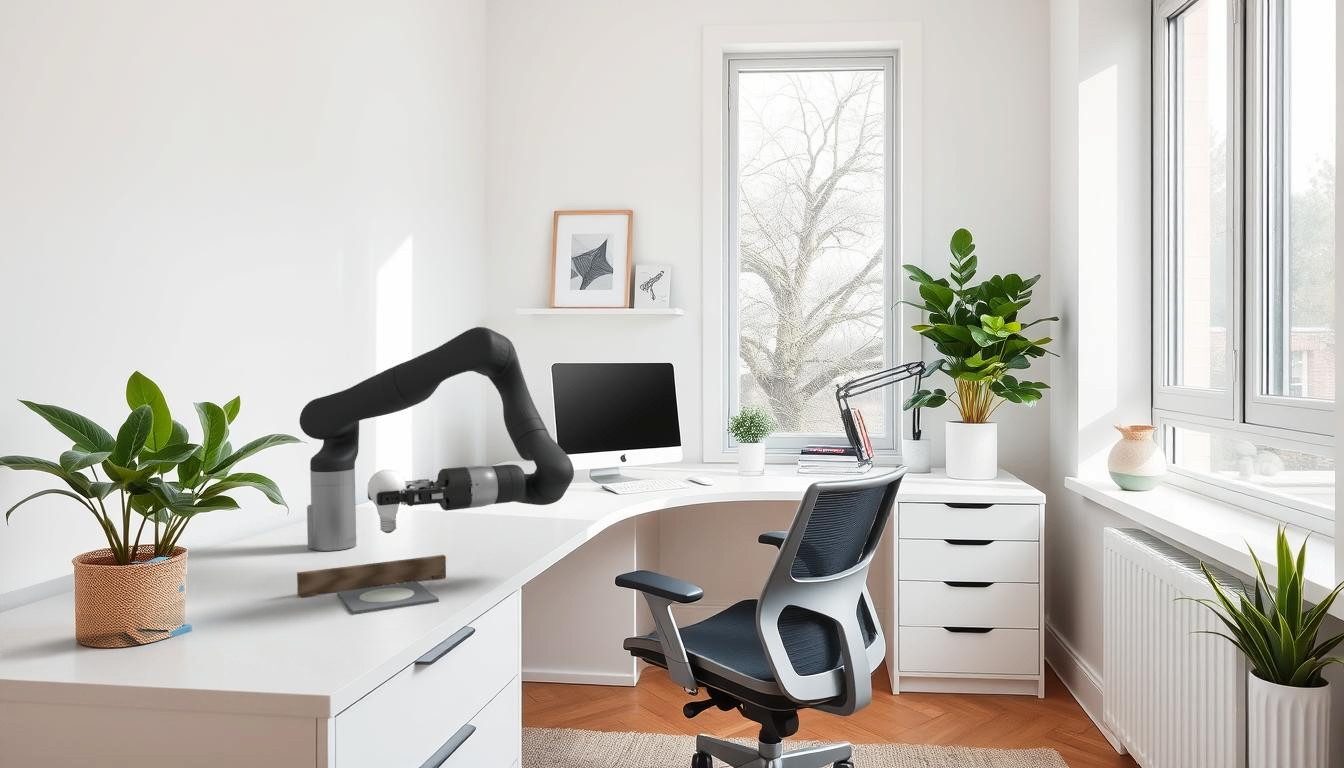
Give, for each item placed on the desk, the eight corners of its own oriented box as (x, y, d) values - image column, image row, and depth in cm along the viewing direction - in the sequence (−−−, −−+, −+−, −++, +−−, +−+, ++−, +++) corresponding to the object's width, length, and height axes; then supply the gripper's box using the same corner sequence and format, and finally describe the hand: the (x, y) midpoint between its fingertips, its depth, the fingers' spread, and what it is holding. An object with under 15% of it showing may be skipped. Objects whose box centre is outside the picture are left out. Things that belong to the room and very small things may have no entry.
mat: (353, 614, 144) (353, 610, 144) (337, 595, 156) (337, 591, 156) (438, 601, 152) (438, 597, 152) (417, 584, 164) (417, 580, 164)
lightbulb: (400, 536, 151) (398, 471, 150) (363, 536, 151) (361, 472, 151) (412, 528, 157) (410, 466, 157) (376, 529, 157) (374, 467, 157)
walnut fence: (299, 598, 155) (299, 575, 155) (296, 594, 157) (296, 571, 157) (447, 578, 168) (446, 557, 168) (442, 574, 171) (442, 554, 170)
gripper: (454, 463, 167) (362, 470, 159) (480, 470, 155) (381, 479, 146) (456, 502, 167) (363, 512, 159) (481, 513, 155) (383, 524, 147)
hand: (372, 496), depth 153 cm, fingers closed on lightbulb, 6 cm apart
